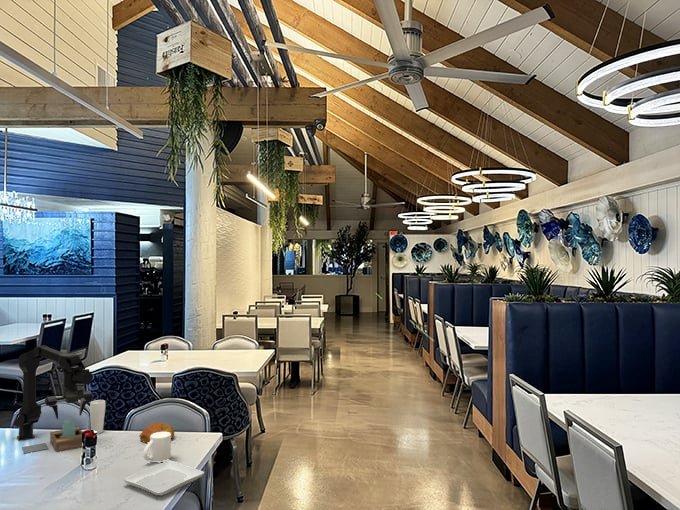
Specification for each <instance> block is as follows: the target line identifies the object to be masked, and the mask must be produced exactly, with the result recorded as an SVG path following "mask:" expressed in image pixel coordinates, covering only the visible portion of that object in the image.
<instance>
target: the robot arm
mask: <svg viewBox="0 0 680 510" xmlns="http://www.w3.org/2000/svg"><path fill="white" fill-rule="evenodd" d="M43 358H45V359H48V360H51V361H53V362H55V363H57V364H58V366H59V367H61V368H62V369H60V370H59V374H63V375H62V395H61V396H60V397H57V396H56V395H53V396H46V397H45V399H44V404H45V405H46V406H48V407H49V408H52V410H53V412H54V413H53V414H54V415H55V419H56V420H59V410H58V407H59V406H58V404H57V403H59V402H60V403H61V402H66V404H71V403H78V402H79V400H80V402H79V412H78V413H79V417H81V416H82V414H83V412H84V408H85V406H86V405H87V403H90V402H91V401H94V393H92V392H91V391H84V389H79V390H78V385H83V386H84V385H86V386H88V385H90V384H91V383H92V381H93V378H94V375H93V373H92V372H91V371H90V369H89V368H86V367H85V364H84V363H83V360H81V357H80V355H79V354H76V353H64V352H62V351H59V350H57V349H54V348H51V347H49V346H47V345H39V346H35V347H34V348H33V349H31V350H29V351H28V350H27V351H26V352H25V353H21V354H20V355H19V356H18V367H19V369H20V370H21V372H22V373H23V374H22V378H23V379H22V381H23V382H22V385H23V386H22V387H23V388H22V389H23V392H22V394H23V395H22V396H23V401H22V405H21V407H20V409H19V410H18V412H19V413H18V416H17V417H16V418H15V420H14V421H13V426H14V427H16V428H18V435H17V436H16V439H17V440H18V441H24V440H29V439H35V434H34V424H36V423H39V420H40V417H41V415H42V405H41V404H38V402H37V392H36V391H37V377H36V376H37V373H36V371H37V369H38V368H39V366H40V362H41V359H43Z"/></svg>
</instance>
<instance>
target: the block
mask: <svg viewBox="0 0 680 510" xmlns="http://www.w3.org/2000/svg"><path fill="white" fill-rule="evenodd" d="M61 422H62V424H61V426H62V429H61V430H62V437H63V438H64V437H69V436H75V428H76V424H77V423H76V419H75V418H70V419H65V420H62V421H61Z"/></svg>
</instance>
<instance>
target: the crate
mask: <svg viewBox="0 0 680 510" xmlns="http://www.w3.org/2000/svg"><path fill="white" fill-rule="evenodd" d="M82 432H83V430H82V428H81V426H78V427H76V426H75V436H69V437H64V438H63V437H62V429H61V430H53V431H50V439H49V443H50V445H51V446H52V447H53V450H54V451H55V453H60V451H61V452H64V451H65V450H66V451H70V450H71V451H72V450H74V449H81V448H83V447H82Z"/></svg>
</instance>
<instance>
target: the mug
mask: <svg viewBox="0 0 680 510" xmlns="http://www.w3.org/2000/svg"><path fill="white" fill-rule="evenodd" d="M171 448H172V439H171V433H170V432H156V433H153V434H152V435H151V436H150V442H149V443H146V446H145V447H144V449H143V452H142V457H143V459H144V460H145V461H149V462H150V460H151V461H163V460H167V459H169V458H170V457H171V456H172V455H171V454H172V453H171V452H172V449H171ZM148 451H149V456H148ZM170 459H171V458H170Z"/></svg>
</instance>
